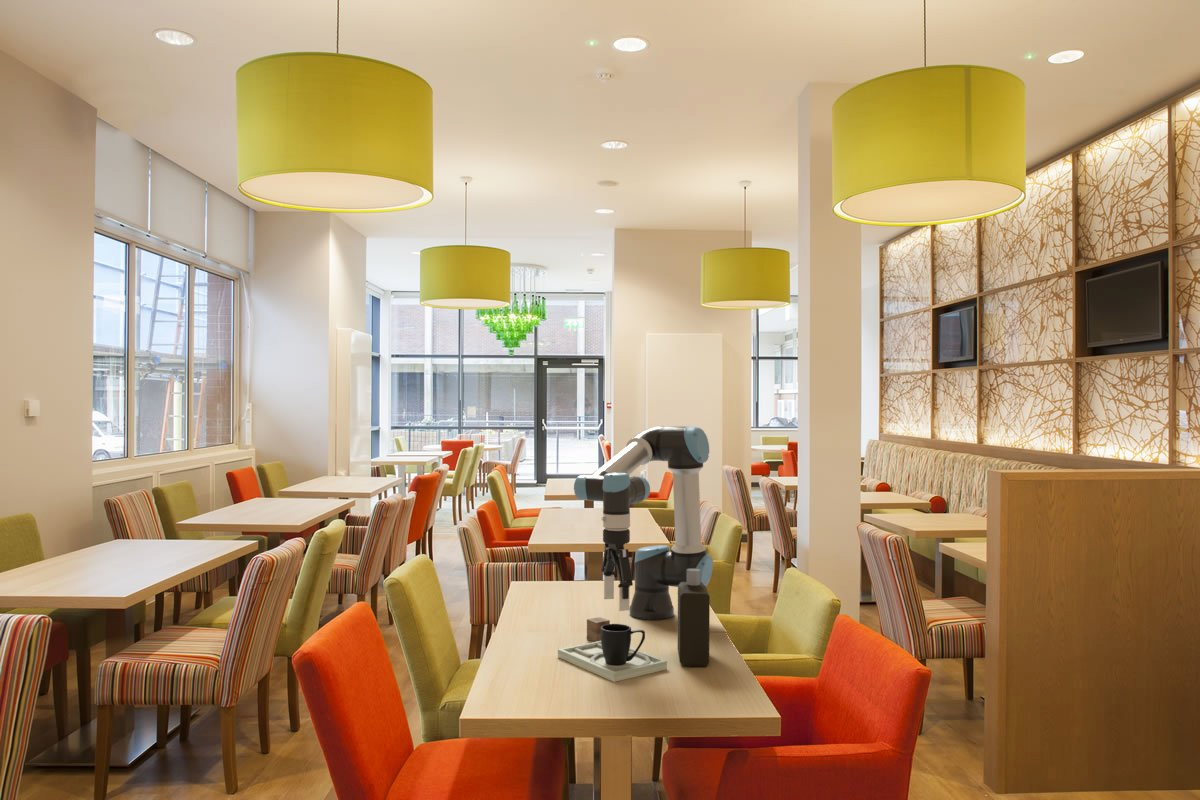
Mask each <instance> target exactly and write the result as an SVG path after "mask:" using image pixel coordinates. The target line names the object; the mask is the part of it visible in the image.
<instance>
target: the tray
mask: <svg viewBox="0 0 1200 800" xmlns="http://www.w3.org/2000/svg"><path fill="white" fill-rule="evenodd" d="M636 649H637V648H634V647H631V646H630V649H629V653H628V656H629V655H631V654H633V653H634V651H635V650H636ZM557 658H559V659H561V660H564V661H565V662H567V663H568V662H569V663H570V664H573V666H574V665H575V666H577V667H579V668H581V669H584V670H585V671H588V672H590V673H593V674H595V675H598V676H600V677H602V678H604V679H606V680H608V681H611V682H613V683H616V682H619V681H624V680H628V679H631V678H637V677H641V676H645V675H649V674H653V673H657V672H661V671H666V670H667V669H668V661H667V660H665V659H662V658H661V657H657V656H655V655H653V654H649V653H647V652H644V651H641V650H640V649H639V650H638V651H637V653H636V655H635V656H634V657H633V659H632V660H630V661H626V663H625V664H624V665H620V666H613V665H608V664H606V662H605V658H604V654H603V650H602V645H601V641H597V642H593V641H591V642H587V643H581V644H578V645H572V646H568V647H563V648H558V649H557Z"/></svg>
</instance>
